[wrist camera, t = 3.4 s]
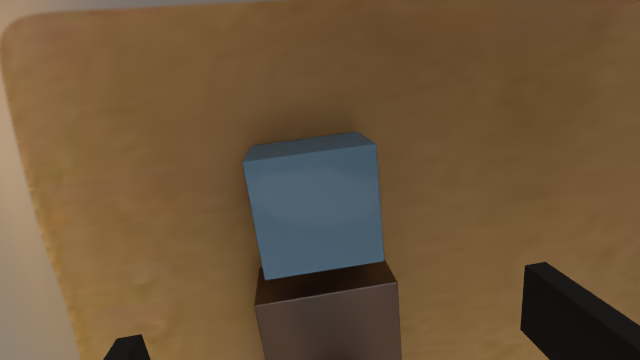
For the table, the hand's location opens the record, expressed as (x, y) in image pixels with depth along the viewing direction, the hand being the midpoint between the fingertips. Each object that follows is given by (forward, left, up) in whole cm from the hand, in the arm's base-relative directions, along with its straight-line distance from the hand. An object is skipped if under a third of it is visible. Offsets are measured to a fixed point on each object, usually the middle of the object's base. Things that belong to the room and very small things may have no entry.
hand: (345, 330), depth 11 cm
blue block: (-1, -1, -14) cm, 14 cm away
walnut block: (+6, +7, -14) cm, 17 cm away
